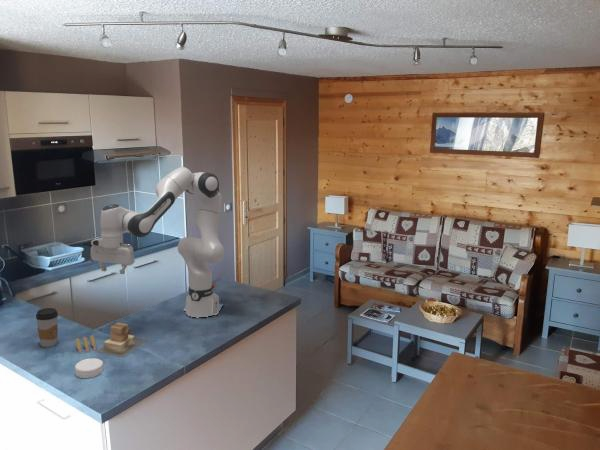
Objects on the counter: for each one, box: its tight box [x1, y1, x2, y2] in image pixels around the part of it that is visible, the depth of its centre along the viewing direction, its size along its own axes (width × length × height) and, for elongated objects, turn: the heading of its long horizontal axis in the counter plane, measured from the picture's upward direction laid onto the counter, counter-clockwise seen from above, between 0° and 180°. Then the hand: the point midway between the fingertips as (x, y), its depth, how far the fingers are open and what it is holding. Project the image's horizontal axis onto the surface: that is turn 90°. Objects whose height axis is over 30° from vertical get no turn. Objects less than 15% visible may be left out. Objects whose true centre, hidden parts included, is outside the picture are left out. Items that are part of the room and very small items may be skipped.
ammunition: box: [74, 335, 98, 355], centre depth 205 cm, size 5×7×8 cm
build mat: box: [94, 337, 149, 359], centre depth 209 cm, size 18×14×1 cm
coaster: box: [74, 357, 104, 379], centre depth 188 cm, size 10×10×4 cm
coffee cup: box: [35, 307, 59, 348], centre depth 207 cm, size 8×8×15 cm
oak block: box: [109, 322, 129, 342], centre depth 205 cm, size 5×5×6 cm
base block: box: [103, 334, 135, 355], centre depth 206 cm, size 10×8×4 cm
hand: (113, 272), depth 215 cm, fingers open, 8 cm apart
